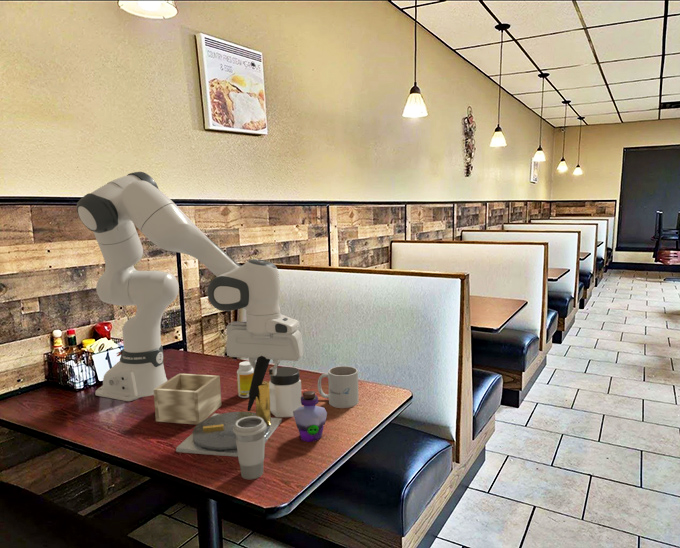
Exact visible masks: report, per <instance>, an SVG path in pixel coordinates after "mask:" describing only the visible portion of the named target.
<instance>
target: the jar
mask: <svg viewBox="0 0 680 548" xmlns="http://www.w3.org/2000/svg"><path fill="white" fill-rule="evenodd" d="M300 375H301V374H300V370H299V369H298V368H296V367H294V366H293V367H292V366H282V367H277V374H276V375H275V376H271V375H269V377H270V380H269V381H268V382H269V389H270V411H271V414H272V415H273V416H274V418H294V414H293V411H295V410H296V409H298V408H300V407H303V405H302V404H301V397H302V396H303V392H302V380H301V379H300Z"/></svg>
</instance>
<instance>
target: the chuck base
mask: <svg viewBox="0 0 680 548" xmlns="http://www.w3.org/2000/svg"><path fill="white" fill-rule="evenodd" d="M219 414H220V413H216V412H213V413H212V414H211V415H210V417H212V416H215V415H219ZM282 421H283V417H271V425H270V431H269V433H268V434H267V435H266V436H265V444H266V443H267V442H268V440H269V438H270V437H271V436H272V435H273V433H274V432H275V431H276V429H277V428H278V427H279V426H280V424H281V423H282ZM175 449H176V450H175V452H176V453H184V454H197V455H198V454H199V455H210V456H222V457H223V456H224V457H225V456H226V457H235V458H238V453H237V449H229V450H214V449H208V448H204V447H201V446H199V445H198V444H196V443H195V442H194V440H193V432H192V433H191V434H189V436H188V437H186V438H185V440H183V441H182V442H181V443H180V444H179V445H177V447H175Z"/></svg>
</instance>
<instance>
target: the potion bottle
mask: <svg viewBox="0 0 680 548" xmlns="http://www.w3.org/2000/svg"><path fill="white" fill-rule="evenodd" d="M316 393H317V392H316V391H314V390H308V391H304V392H302V397H301V404H302V407H300V408H298V409H296V410H295V411H293V414H294V416H293V418H294V422H295V424H296V425H295V426H296V428H297V430H298V433H299V434H298V435H299V437H300V440H301V441H303V442H307V443H311V442H316V441H319V440H320V439H322V437H323V431H324V427H325V425H326V420H327V415H328V412H327V411H326V409H325V408H326V407H324V406H318V404H319V397H318V395H317V394H316Z"/></svg>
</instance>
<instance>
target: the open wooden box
mask: <svg viewBox="0 0 680 548" xmlns="http://www.w3.org/2000/svg"><path fill="white" fill-rule="evenodd" d="M221 389H222V388H221V376H220V375H216V374H215V375H211V374H198V373H197V374H195V373H177V374H176V375H174V376H173V377H171V378H169V379H167V381H166V382H165V383H163V384H162V385H160V386H158V387H157V388H155V389H154V395H153V401H154V413H155V422H160V423H173V424H174V423H175V424H183V425H184V424H188V425H195V426H197V425H198V424H199V423H200V422H202V421H203V420H205V419H207V418H210V417H211V416H212V415H213V414H214V413H215V412H216V411H217V410H218V409H219V408H221V406H222V390H221Z"/></svg>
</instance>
